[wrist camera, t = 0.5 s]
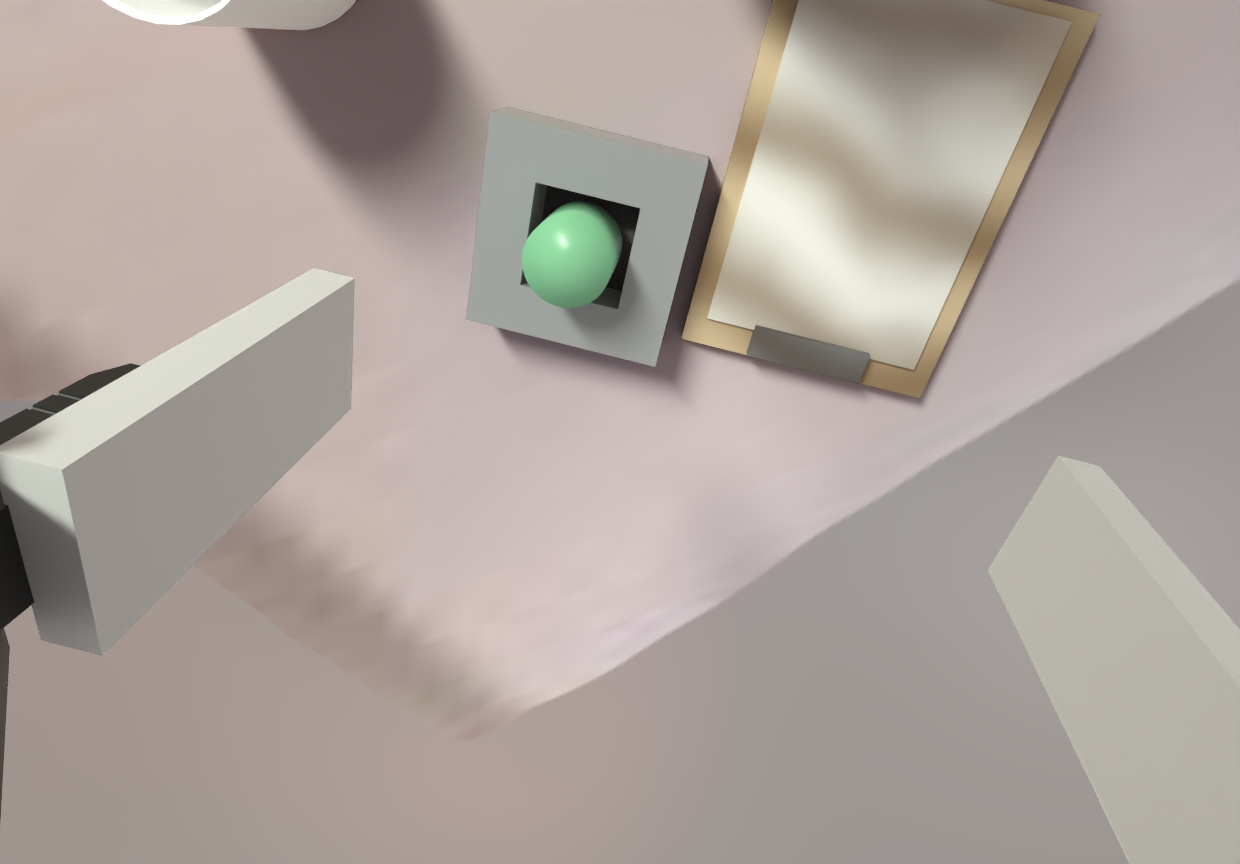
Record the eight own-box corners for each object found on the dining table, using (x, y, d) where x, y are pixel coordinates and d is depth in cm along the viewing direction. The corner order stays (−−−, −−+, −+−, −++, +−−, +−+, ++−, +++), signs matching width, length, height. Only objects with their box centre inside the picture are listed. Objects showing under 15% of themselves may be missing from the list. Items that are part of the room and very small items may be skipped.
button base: (507, 107, 35) (489, 111, 32) (708, 156, 35) (707, 165, 32) (483, 301, 40) (466, 319, 37) (659, 345, 39) (655, 367, 37)
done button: (548, 192, 34) (529, 208, 31) (630, 212, 34) (619, 230, 31) (536, 272, 36) (515, 296, 33) (613, 291, 36) (601, 317, 33)
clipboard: (789, -59, 30) (792, -64, 29) (1091, 14, 30) (1106, 13, 29) (682, 333, 39) (680, 342, 38) (916, 392, 39) (922, 403, 38)
